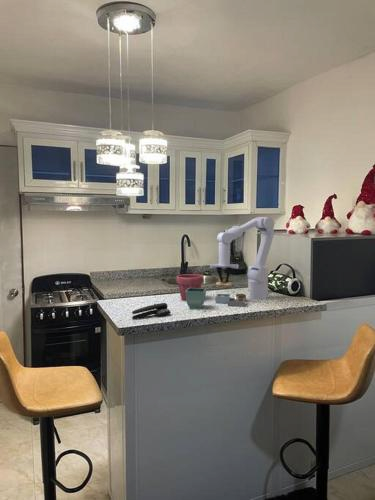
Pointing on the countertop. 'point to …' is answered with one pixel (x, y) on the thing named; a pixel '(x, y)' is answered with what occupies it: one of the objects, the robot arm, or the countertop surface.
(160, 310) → the can opener
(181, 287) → the plant pot
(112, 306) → the countertop surface
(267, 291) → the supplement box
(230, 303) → the tray
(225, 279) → the lid
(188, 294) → the flower pot
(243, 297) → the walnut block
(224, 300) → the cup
